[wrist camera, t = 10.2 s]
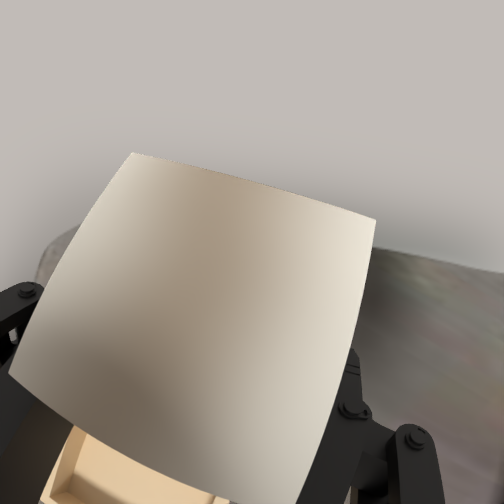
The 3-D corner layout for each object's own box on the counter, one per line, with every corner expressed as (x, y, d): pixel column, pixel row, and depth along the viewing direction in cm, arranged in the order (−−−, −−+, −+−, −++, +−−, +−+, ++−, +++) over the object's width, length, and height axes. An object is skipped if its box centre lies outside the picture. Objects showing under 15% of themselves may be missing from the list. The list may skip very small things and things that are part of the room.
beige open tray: (244, 459, 21) (243, 467, 18) (197, 564, 16) (190, 581, 12) (94, 390, 23) (75, 387, 20) (58, 492, 18) (38, 498, 15)
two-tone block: (290, 350, 17) (376, 219, 5) (259, 434, 15) (289, 516, 3) (206, 321, 18) (131, 152, 6) (172, 401, 15) (7, 372, 4)
